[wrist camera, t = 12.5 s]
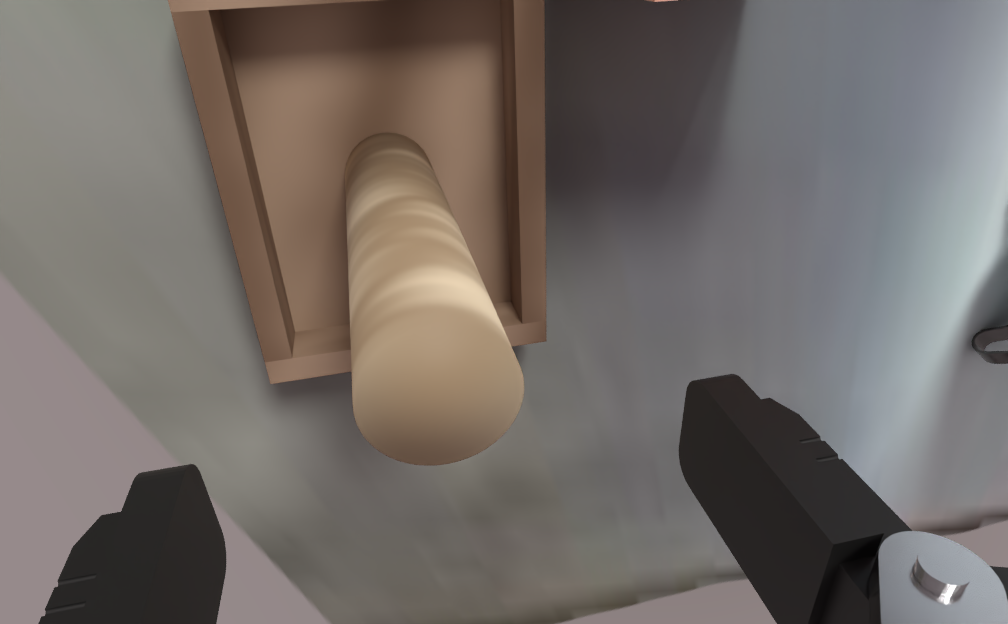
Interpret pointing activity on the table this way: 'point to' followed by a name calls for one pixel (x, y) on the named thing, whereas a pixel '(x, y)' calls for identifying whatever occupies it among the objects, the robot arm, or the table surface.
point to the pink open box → (660, 0)
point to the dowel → (420, 315)
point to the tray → (352, 118)
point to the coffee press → (988, 337)
